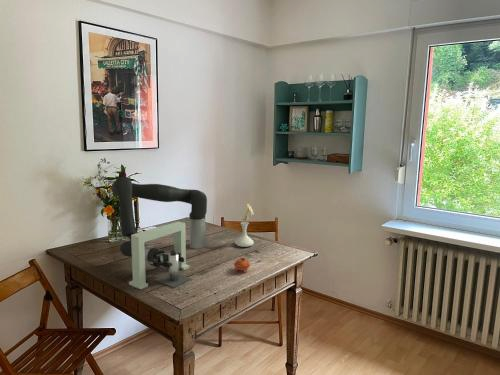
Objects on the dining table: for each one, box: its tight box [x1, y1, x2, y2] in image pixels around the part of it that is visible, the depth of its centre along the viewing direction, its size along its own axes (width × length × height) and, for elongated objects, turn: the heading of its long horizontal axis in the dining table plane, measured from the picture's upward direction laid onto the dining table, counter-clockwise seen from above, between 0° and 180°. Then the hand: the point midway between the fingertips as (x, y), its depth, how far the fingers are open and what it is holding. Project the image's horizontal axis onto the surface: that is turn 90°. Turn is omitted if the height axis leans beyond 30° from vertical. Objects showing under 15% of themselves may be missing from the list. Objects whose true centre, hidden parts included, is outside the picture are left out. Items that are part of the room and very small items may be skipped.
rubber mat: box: [156, 273, 192, 289], centre depth 165 cm, size 11×11×1 cm
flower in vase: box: [234, 203, 255, 248], centre depth 214 cm, size 13×11×25 cm
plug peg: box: [168, 249, 180, 282], centre depth 164 cm, size 4×4×14 cm
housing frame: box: [128, 221, 190, 290], centre depth 168 cm, size 8×30×23 cm, turn 145°
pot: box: [233, 257, 251, 273], centre depth 178 cm, size 8×8×7 cm
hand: (176, 262), depth 163 cm, fingers open, 8 cm apart
